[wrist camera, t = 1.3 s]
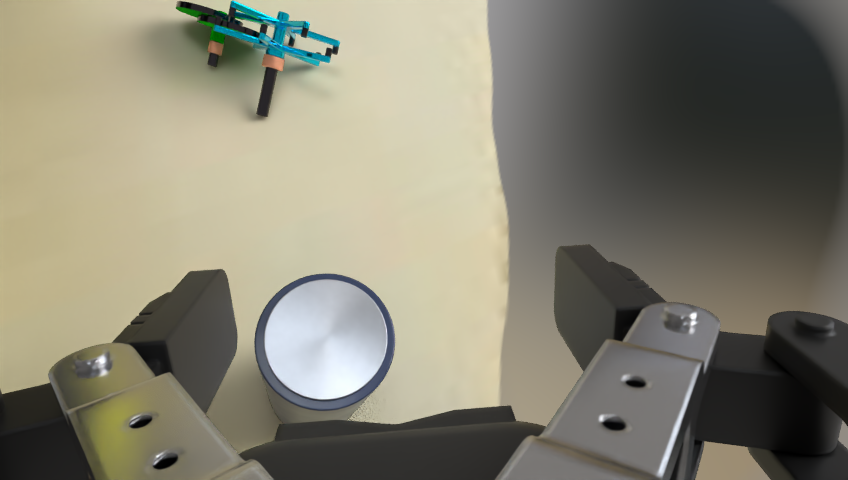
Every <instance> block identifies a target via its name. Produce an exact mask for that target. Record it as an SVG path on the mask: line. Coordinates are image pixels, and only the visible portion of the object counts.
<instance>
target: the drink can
mask: <svg viewBox="0 0 848 480" xmlns="http://www.w3.org/2000/svg"><path fill="white" fill-rule="evenodd" d="M254 343H255V355H256V360H257V363H258V367H259V370H260V372H261V375H262V378H263V381H264V384H265V387H266V390H267V393H268V396H269V399H270V402H271V405H272V408H273V410H274V412H275V414H276V415H277V417H278V418H279V419H280V420H281V421H282V422H283V423H284V424H290V423H302V422H314V421H326V420H346V421H347V420H348V419H349V418H350V416H351V415H352V414H353V413H354V412H355V411H356V410H357V409H358V408H359V407H360V405H361V404H362V403H363V402H364V401H365V400H366V399H367V398H368V397H369V396H370V395H371V393H372V392H373V391H374V390H375V389H376V388H377V387H378V386H379V384H380V383H381V382H382V380H383V379H384V377H385V376H386V374H387V372H388V370H389V368H390V365H391V363H392V359H393V355H394V349H395V333H394V327H393V323H392V319H391V317H390V315H389V312H388V310H387V308H386V307H385V305H384V303H383V302H382V301H381V300H380V298H379V297H378V296H377V295H376V294H375V293H374V292H373V291H372V290H371V289H369V288H368V287H367V286H365V285H364V284H362V283H360V282H359V281H356V280H354V279H352V278H349V277H346V276H342V275H337V274H316V275H310V276H306V277H303V278H300V279H298V280H296V281H294V282H292V283H290V284H288V285H287V286H285V287H284V288H282V289H281V290H280V291H279V292H278V293H276V294H275V296H274V297H273V298H272V299H271V300H270V301H269V303H268V304H267V305H266V307H265V308H264V310H263V312H262V314H261V316H260V319H259V321H258V324H257V328H256V332H255V341H254Z"/></svg>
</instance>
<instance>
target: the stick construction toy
mask: <svg viewBox="0 0 848 480" xmlns="http://www.w3.org/2000/svg"><path fill="white" fill-rule="evenodd" d="M176 9H177V10H179V11H181V12H183V13H186V14H188V15H191V16H194V17H197V22H199V23H201V24H204V25H206V26H210V27H211V28H212V31H211V36H210V41H209V46H208V52H209V53H210V54H209V59H208V65H210V66H214V67H217V63H218V58H219V55H220V56H221V55H222V50H223V44H224V40H225V35H228V36H231V37H234V38H237V39H241V40H244V41H247V42H250V43H253V48H254V49H260V50H266V53H265V54H264V57H263V61H262V66H264V67H266V71H265V75H264V80H263V85H262V89H261V94H260V99H259V103H258V108H257V113H256V114H258V115H262V116H266V117H268V113H269V108H270V104H271V99H272V94H273V90H274V85H275V81H276V76H277V71H283V66H284V62H285V60H284V56H285V54H286V55H289V56H291V57H294V58H297V59H299V60H302V61H305V62H307V63H310V64H313V65H315V66H319V63H320V61H321V62H325V63H330V59H331V54H335V55H337V53H338V49H339V44H340V42H339V41H337V40H334V39H331V38H328V37H326V36H323V35H320V34H317V33H314V32H311V31H308V30H309V25H310V23H309V22H306V21H289V14H287V13H284V12H280V11H279V12H278V14H277V19H275V18H273V17H270V16H268V15H266V14H263V13H261V12H259V11H256V10H254V9H252V8H250V7H247V6H245V5H243V4H240V3H238V2H236V1H231V4H230V9H229V14H228V15H227V13H225V12H222V11H216V10H213V9H210V8H207V7H204V6H201V5H197V4H193V3H189V2H183V1H177V4H176ZM236 10H239V11H241V12H243V13H240V12H236ZM235 18H237V19H242V20H246V21H250V22H254V23H258V24H261V28H260V33H259V32H256V31H254V30H251V29H249V28H246V27H243V23H242V22H240V21H238V20H235ZM268 26H270V27H274V33H273V38H272V39H271V38H270V37H268V36H267V35H266V32H267V27H268ZM296 34H298V35H301V37H304V38H307V37H308V38H311V39H314V40H317V41H320V42H323V43H327V44H330V45H333V49H331V48H327V49H326V53H325V56H324V55H321V53H318V52H317V53H312V52H308V51H304V50H300V49H296V48H292V47H293V46H294V41H295V36H296ZM285 35H287V36H288V37H289V38H290V39H289V43H288V45H289V46H291V47H288V46H284V45H283V44H284V39H285Z"/></svg>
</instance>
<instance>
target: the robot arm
mask: <svg viewBox="0 0 848 480" xmlns="http://www.w3.org/2000/svg"><path fill="white" fill-rule="evenodd" d="M555 261H556V262H555V291H554V293H555V294H554V314H555V321H556V325H557V328H558V331H559V332H560V334H561V336H562V337H563V339H564V341H565V342H566V344H567V346H568V347H569V349H570V350H571V352H572V354H573V355H574V357H575V358H576V360H577V362H578V363H579V365H580V367H581V368H582V370H583V371H584V372H583V374H582V375H581V377H580V378H579V380H578V381H577V383H576V384H575V386H574V387H573V389H572V390H571V391H570V393H569V394H568V396H567V397H566V399H565V400H564V402H563V403H562V405H561V406H560V408H559V409H558V411H557V412H556V414H555V415H554V416H553V418H552V420H551V421H550V422H549V424H548V425H547V427H545V426H542V425H538V424H533V423H528V422H520V421H516V419H515V416H514V414H513V411H512V408H511V406H498V407H486V408H474V409H462V410H453V411H449V412H445V413H441V414H437V415H433V416H429V417H425V418H421V419H417V420H413V421H410V422H406V423H401V424H380V423H369V422H357V421H346V420H326V421H314V422H302V423H290V424H279V426H278V429H277V433H276V436H275V440H274V441H273V442H269V443H265V444H262V445H259V446H256V447H254V448H251V449H249V450H246V451H244V452H242V453H240V454H238V453H237V452H236V451H235V449H234V448H233V447H232V446H231V445H230V443H229V442H228V441H227V440H226V439H225V437H224V436H223V435H222V434H221V433H220V431H219V430H218V429H217V428H216V427H215V425H214V424H213V423H212V422H211V421H210V419H209V418H208V417H207V416H206V415H205V414H206V412H207V410H208V408H209V406H210V404H211V402H212V400H213V398H214V396H215V394H216V392H217V390H218V388H219V386H220V384H221V382H222V380H223V378H224V376H225V374H226V372H227V370H228V368H229V366H230V364H231V362H232V360H233V358H234V356H235V353H236V349H237V328H236V323H235V317H234V311H233V306H232V300H231V294H230V289H229V283H228V279H227V275H226V273H225V271H224V270H222V269H217V270H203V271H190V272H189V273H188V274H187V275H186V276H185V277H184V278H183V279H182V280H181V282H180V283H179V284H178V285H177V286H176V287H175V288H174V289H173V290H172V292H168V293H166V294H164V295H162V296H160V297H159V298H157V299H155V300H153V301H152V302H150V303H149V304H148V305H147V306H146V307H145V308H144V309H143V310H142V311H141V312H140V313H139V316H137V317H136V318H135V319H134V320H133V321H132V322H131V325H128V326H127V327H126V328H125V329H124V330H123V331H122V332H121V334H120V335H119V336H118V337H117V338H116V339H115V340H114V341H113V342H112V343H108V344H101V345H96V346H92V347H88V348H85V349H82V350H79V351H77V352H75V353H72V354H70V355H68V356H66V357H65V358H63V359H61V360H60V361H58V362H57V363H56V364H55V365H54V366H53V367H52V368H51V369H50V371H49V374H48V375H49V379H50V383H48V384H44V385H40V386H36V387H31V388H27V389H23V390H18V391H14V392H10V393H5V394H2V393H1V390H0V480H695V478H696V474H697V471H698V467H699V463H700V460H701V456H702V452H703V447H704V441H707V442H715V443H723V444H730V445H737V446H745V447H748V450H749V453H750V454H751V455H752V457H753V458H754V459H755V461H756V462H757V463H758V464H759V465H760V467H761V468H762V469H763V470H764V472H765V473H766V474H767V475H768V477H769V478H770V479H771V480H848V449H847V448H846V447H845V446H844V445H843V444H841V443H840V442H839V441H838V437H839V433H840V429H841V425H842V420H843V421H844V422H845V423H846V425H847V426H848V324H846V323H844V322H842V321H839V320H837V319H834V318H831V317H828V316H824V315H820V314H816V313H810V312H800V311H786V312H779V313H776V314H773V315H772V316H770V318H769V319H768V324H767V330H766V336H762V335H750V334H738V333H728V332H721V331H720V320H719V319H718V318H717V317H716V316H715V315H714V314H713V313H711V312H709V311H707V310H705V309H703V308H700V307H697V306H693V305H689V304H684V303H676V302H666V301H665V300H664V299H663V298H662V297H661V296H659V295H658V294H657V293H656V292H655V291H654V290H653V289H652V288H649V286H648V285H647V284H646V283H645V282H644V281H643V280H641V279H640V278H639V277H638V276H637V275H636V274H635V273H634V272H633V271H632V270H631V269H628V268H626V267H624V266H621V265H619V264H616V263H614V262H608V261H607V260H606V259H605V258H603V257H602V256H601V255H600V254H599V253H598V252H597V251H596V250H595V249H594V248H593V247H592V246H591V245H574V246H560V247H558V249H557V252H556V260H555Z"/></svg>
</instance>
